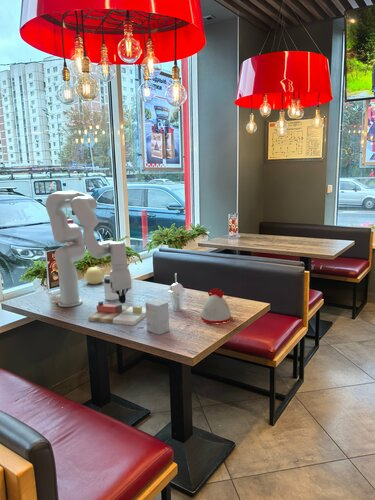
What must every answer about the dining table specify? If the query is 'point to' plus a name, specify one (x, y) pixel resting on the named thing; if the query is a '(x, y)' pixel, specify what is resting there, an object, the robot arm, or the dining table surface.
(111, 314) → the tan wavy block
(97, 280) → the pale yellow ball
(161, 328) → the small box
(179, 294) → the cup with straw
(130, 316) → the door
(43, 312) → the dining table surface
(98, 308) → the swing bar
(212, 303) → the kitchen timer
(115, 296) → the jar
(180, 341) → the dining table surface
